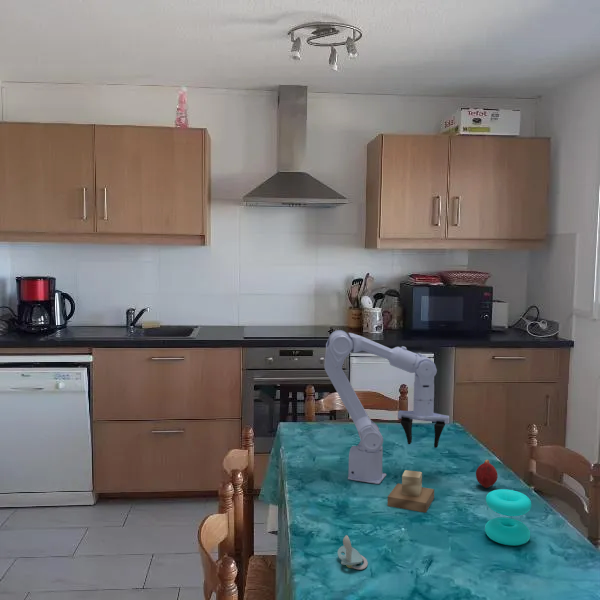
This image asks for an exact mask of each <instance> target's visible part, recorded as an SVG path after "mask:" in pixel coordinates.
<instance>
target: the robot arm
mask: <svg viewBox="0 0 600 600" xmlns="http://www.w3.org/2000/svg"><path fill="white" fill-rule="evenodd" d="M351 351H352V353H353V354H354V353H360V352H361V351H363V352H366V353H369V354H372V355H374V356H377V357H381V358H383V359H387V360H388V362H389V364H390V366H392V367H394V368H397V369H399V370H403V371H405V372H406V373H410V374H413V373H414V382H413V410H398V412H397V419H399V420H400V425H401V427H402V428H403V431H404V433H405V437H406V441H407V442H406V443H407V445H411V444H412V443H413V442H412V441H413V436H412V435H413V432H412V431H413V429H412V428H413V420H414V421H415V420H416V421H424V422H432V423H433V422H434V424H433V425H434V426H433V427H434V429H433V430H434V441H433V443H434V444H433V448H435V449H437V448H438V446H439V441H440V438H441V434H442V432H443V431H444V428H445V426H446V425H449V423H450V415H446V414H441V413H437V412H435V411H434V407H435V406H434V405H435V401H434V398H435V377H436V374H437V373H438V372H437V371H438V369H437V366H436V364H435V362H434V361H432V359H430V358H429V357H428V356H426V355H424V354H422V353H421V352H418V353H415V352H413V351H410V350H408V349H407V347H406V346H403V345H402V346H395V347H393V348H390V347H388V346H386V345H383V344H380V343H378V342H376V341H373V340H372V339H369V338H368V337H364V336H362V335H358V334H356V333H352V332H346V331H345V330H341V329H337V330H334V331H333V332H331V334H329V336H328V339H327V342H326V343H325V353H324V354H325V355H324V363H323V365H324V366H323V367H324V371H325V373H326V374H327V377H328V378H329V380H330V382H331V384H332V385H333V387H334V389H335V391H336V393H337V394H338V396H339V399H340V400H341V402H342V403H343V405H344V408H345V409H346V412H348V415H349V416H350V418H351V420H352V421H353V424H354V426H355V428H356V430H357V433H358V434H357V435H358V437H359V439H360V441H359V443H358V444H357V445H352V446H351V447H350V449H349V452H348V476H347V480H352V481H357V482H361V483H362V482H363V483H369V484H376V485H379V484H381V482H382V481H383V480H384V479H385V478H386V476H387V473H385V472H383V455H384V454H383V451H384V450H383V443H384V437H383V435H382V433H381V432H380V427H379V426H378V424H377V423H375V422H374V421H373V420H371V418H370V416H369V414H368V413H367V411H366V409H365V408H364V406H363V404H362V402H361V401H360V399H359V397H358V395H357V393H356V391H355V390H354V388H353V386H352V384H351V382H350V380H349V379H348V376H347V374H346V373H345V372H344V369H343V365H344V362H345V359H346V358H347V357H348V356H349V354H350V353H351Z"/></svg>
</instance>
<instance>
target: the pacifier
mask: <svg viewBox="0 0 600 600" xmlns="http://www.w3.org/2000/svg"><path fill="white" fill-rule="evenodd" d="M342 544H343V545H342V546H340V547H339V548H338V549H337V557H338V558H339V560H341V561H340V564H341V565H342V566H345V565H346V566H347V568H349V569H354V570H360V571H361V570H364V569H366V568H367V567H368V564H369V562H368V559H367V558H366V557H365V556H363V555H362V554H360V552H359V551H358V550H357V549H356V548H354V547H352V544H351V540H350V537H349V536H348V535H347V534H346V535H345V536H344V537H343V539H342ZM361 563H362V564H361ZM358 564H361V565H358ZM346 566H345V567H346Z"/></svg>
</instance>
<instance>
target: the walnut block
mask: <svg viewBox="0 0 600 600" xmlns="http://www.w3.org/2000/svg"><path fill="white" fill-rule="evenodd" d="M434 499H435V488H430V487H429V488H428V487H423V486H422V491H421V493H420V496H419V497H417V496H410V495H402V483H397V484H396V485H395V486H394V488H393V489H392V490H391V491H390V492H389V494H388V495H387V507H392V508H397V509H401V510H402V509H403V510H407V511H408V510H409V511H415V512H419V513H427V512H428V510H429V508H430V506H431V504H432V503H433V501H434Z"/></svg>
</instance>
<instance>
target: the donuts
mask: <svg viewBox="0 0 600 600" xmlns="http://www.w3.org/2000/svg"><path fill="white" fill-rule="evenodd" d="M485 502H486V505H487V507H488V508H489V509H490V510H491V511H493V512H494V513H496V514H499V515H502V516H501V517H500V516H499V517H493V518H490V520H488V521H487V522H486V523H485V526H484V532H485V534H486V535H487V537H488V538H489V539H490V540H491V541H493V542H495V543H498V544H501V545H505V546H522V545H525V544H526V543H528V542H529V540H530V539H531V530H530V529H529V527H528V526H527V525H526V524H525V523H524V522H522V521H520V520H518V519H516V518H513V517H520V516H523V515H525V514H527V513H529V512H530V511H531V509H532V501H531V499H530V498H529V496H527V495H526V494H524V493H523V492H520V491H517V490H512V489H507V488H505V489H504V488H503V489H502V488H499V489H494V490H491V491H489V492H488V493H487V495H486V496H485ZM506 516H507V517H506Z"/></svg>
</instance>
